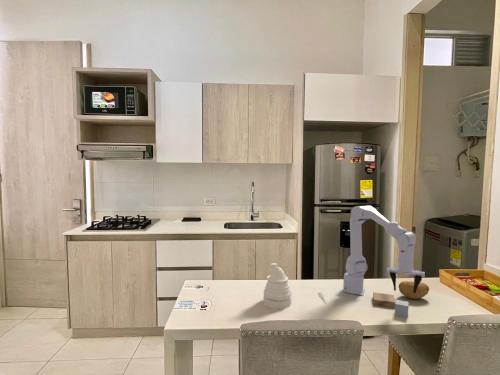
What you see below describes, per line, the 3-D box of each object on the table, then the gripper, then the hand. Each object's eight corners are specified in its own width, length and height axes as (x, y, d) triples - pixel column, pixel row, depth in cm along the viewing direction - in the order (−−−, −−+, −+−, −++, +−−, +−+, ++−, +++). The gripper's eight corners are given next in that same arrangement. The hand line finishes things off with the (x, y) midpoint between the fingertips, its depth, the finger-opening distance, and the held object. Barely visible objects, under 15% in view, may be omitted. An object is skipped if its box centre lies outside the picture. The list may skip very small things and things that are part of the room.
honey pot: (259, 306, 147) (260, 266, 145) (268, 295, 159) (268, 259, 157) (287, 310, 142) (288, 270, 141) (294, 299, 154) (295, 262, 153)
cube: (394, 315, 140) (395, 303, 139) (395, 310, 144) (396, 299, 144) (407, 317, 137) (408, 306, 137) (408, 313, 142) (408, 301, 141)
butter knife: (323, 292, 163) (317, 291, 163) (337, 318, 136) (330, 317, 136) (323, 293, 163) (317, 292, 163) (337, 319, 136) (330, 318, 136)
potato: (433, 302, 153) (434, 286, 152) (402, 301, 154) (403, 284, 153) (423, 294, 163) (424, 278, 162) (394, 293, 163) (395, 277, 163)
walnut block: (373, 305, 149) (374, 299, 149) (372, 298, 158) (373, 292, 158) (395, 308, 147) (395, 302, 146) (393, 301, 155) (393, 294, 155)
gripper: (387, 260, 139) (386, 291, 140) (426, 264, 134) (424, 297, 135) (387, 256, 146) (386, 286, 147) (424, 260, 141) (422, 291, 141)
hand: (404, 291), depth 141 cm, fingers open, 7 cm apart
